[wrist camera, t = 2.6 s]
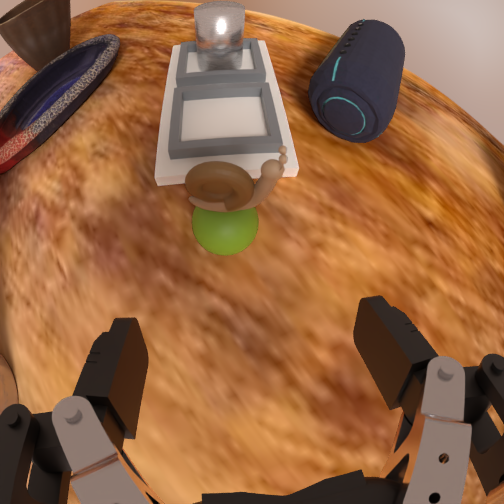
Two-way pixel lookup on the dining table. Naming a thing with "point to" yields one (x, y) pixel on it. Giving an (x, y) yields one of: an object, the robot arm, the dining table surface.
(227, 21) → the silver metal cylinder
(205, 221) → the snail figurine
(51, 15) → the plant pot
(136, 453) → the dining table surface
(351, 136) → the portable speaker
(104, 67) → the dish
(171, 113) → the compartment tray
